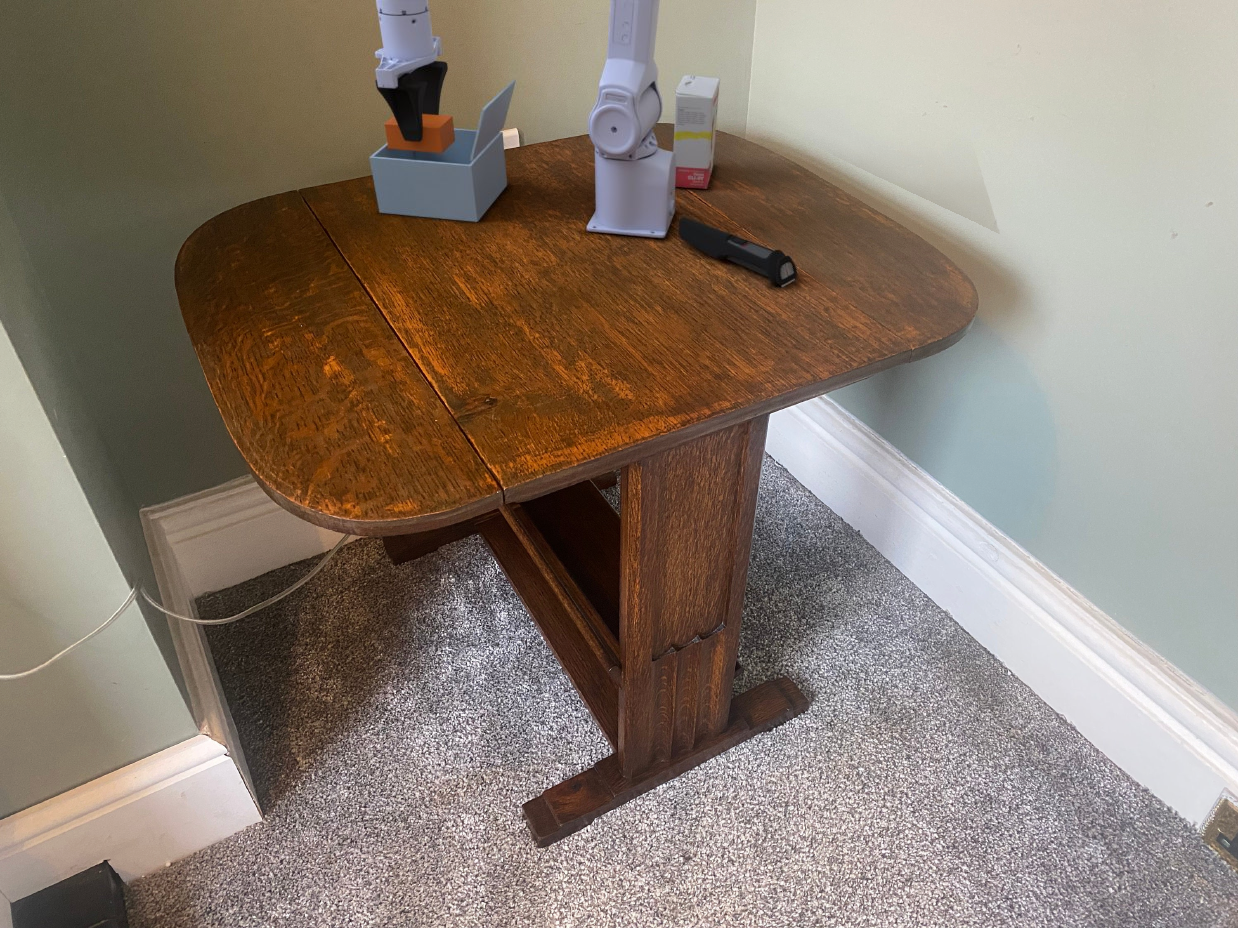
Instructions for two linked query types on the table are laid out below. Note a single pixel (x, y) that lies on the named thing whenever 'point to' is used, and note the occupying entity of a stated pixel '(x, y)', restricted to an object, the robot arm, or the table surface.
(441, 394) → the table surface
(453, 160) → the grey box
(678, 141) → the ink box
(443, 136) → the packet
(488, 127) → the panel
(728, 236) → the electric trimmer
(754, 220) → the table surface
